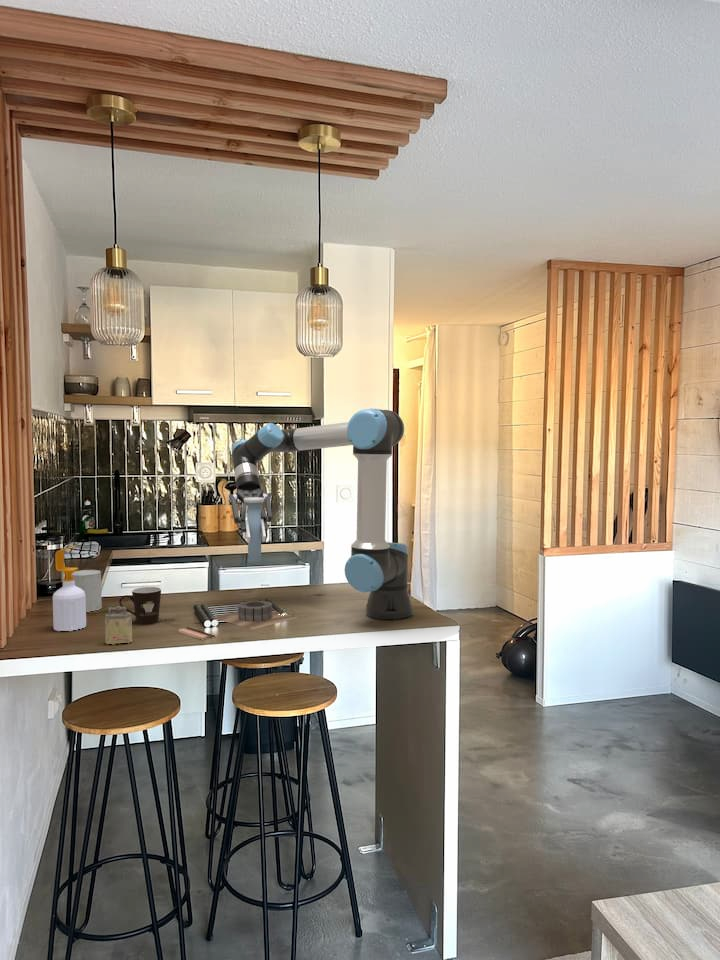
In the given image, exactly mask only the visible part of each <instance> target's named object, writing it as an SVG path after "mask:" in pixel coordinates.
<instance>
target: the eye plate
mask: <svg viewBox="0 0 720 960" xmlns="http://www.w3.org/2000/svg"><path fill="white" fill-rule="evenodd" d="M237 610H238V611H237ZM237 610H236V611H234V612H229V613H225V614H221V615H220V614H219V615H216V616H212V617H211V618H212V619H214V620H219V621H222V622H224V623H228V624H233V625H236V626H238V627H239V626H240V627H243V628H246V629H250V630H257V629H261V628H264V627H267V626H272V625H277V624H279V623H283V622H288V621H291V620H295V619H299V618H300V616H295V615H291V614H287V613H284V614H285V615H284V616H283V615H282V616H281V615H278V614H279V613H281V612H279V611H277V610H273V603H272V602H270V601H265V600H249V601H243V602H240V603H238V605H237Z"/></svg>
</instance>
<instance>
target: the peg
mask: <svg viewBox="0 0 720 960" xmlns="http://www.w3.org/2000/svg"><path fill="white" fill-rule="evenodd" d="M264 502H265V501H264V498H263V497H248V498H244V503H247V508H246V515H247V520H248V524H249V531H250V542H247V560H248V561H247V562H249V563H260V562H262V535H261V506H262V504H261V503H264Z"/></svg>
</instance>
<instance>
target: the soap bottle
mask: <svg viewBox="0 0 720 960" xmlns="http://www.w3.org/2000/svg"><path fill="white" fill-rule="evenodd" d="M75 547H77V546H76V545H72V546H68V547H65V548H62V549H58V550H56V552H55V553H54V557H55V558H54V561H55V562H54V563H55V564H54V565H55V570H56V571H57V572H63V575H65V577H64V578H62V587H60V588H59V589H56V591H54V592H53V594H52V615H53V616H52V618H53V620H52V621H53V625H52V626H53V630H54V631H56V632H60V631H69V632H74V631H73V630H76V631H79V630H78V629H80V630H83V629H84V628H86V627H87V613H86V596H85V592H84V591H83V590H82V589H81V588H79V587H77V586H75V578H73V577H72V573H73V572H74V571H79V567H66V565H65V552H66V551H67V550H70V549H73V548H75ZM82 628H83V629H82Z"/></svg>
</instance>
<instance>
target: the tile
mask: <svg viewBox="0 0 720 960" xmlns="http://www.w3.org/2000/svg"><path fill="white" fill-rule="evenodd" d="M178 633H180V634H182V635H185V636H189V637H190V638H191V637H192V638H195V639H198V640H200V639H201V640H200V641H205V639H206V640H209V638H210V639H212V637H214V638H216V637H215V636H216V635H215V634H210V633H206V632H204V631H201V630H198V629H194V628H191V627H189V626H188V627H183V628H178Z"/></svg>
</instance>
